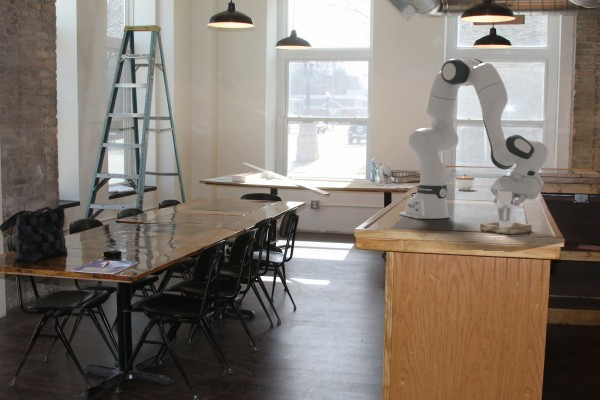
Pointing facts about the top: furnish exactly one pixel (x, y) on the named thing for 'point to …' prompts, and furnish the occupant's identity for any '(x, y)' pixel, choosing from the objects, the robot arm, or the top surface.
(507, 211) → the beer glass
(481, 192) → the top surface
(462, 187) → the lidded jar
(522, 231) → the oak tray
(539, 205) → the top surface
